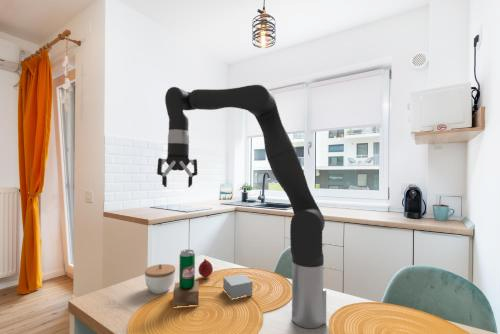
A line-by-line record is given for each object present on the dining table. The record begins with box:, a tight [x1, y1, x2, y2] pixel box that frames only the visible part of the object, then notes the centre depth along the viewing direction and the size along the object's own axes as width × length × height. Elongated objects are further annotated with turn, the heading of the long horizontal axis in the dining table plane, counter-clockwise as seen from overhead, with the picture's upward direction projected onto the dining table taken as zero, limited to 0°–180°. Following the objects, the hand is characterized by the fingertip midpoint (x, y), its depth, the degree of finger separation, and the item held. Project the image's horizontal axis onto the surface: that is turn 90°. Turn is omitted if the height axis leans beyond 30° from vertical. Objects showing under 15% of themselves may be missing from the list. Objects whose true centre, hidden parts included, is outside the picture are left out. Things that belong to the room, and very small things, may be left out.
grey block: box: [222, 273, 253, 300], centre depth 96 cm, size 8×8×5 cm
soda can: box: [178, 249, 196, 289], centre depth 90 cm, size 5×5×12 cm
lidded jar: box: [144, 263, 176, 295], centre depth 98 cm, size 11×11×9 cm
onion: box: [198, 258, 214, 279], centre depth 109 cm, size 6×6×8 cm
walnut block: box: [172, 280, 200, 308], centre depth 89 cm, size 8×8×5 cm
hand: (177, 187), depth 97 cm, fingers open, 8 cm apart
